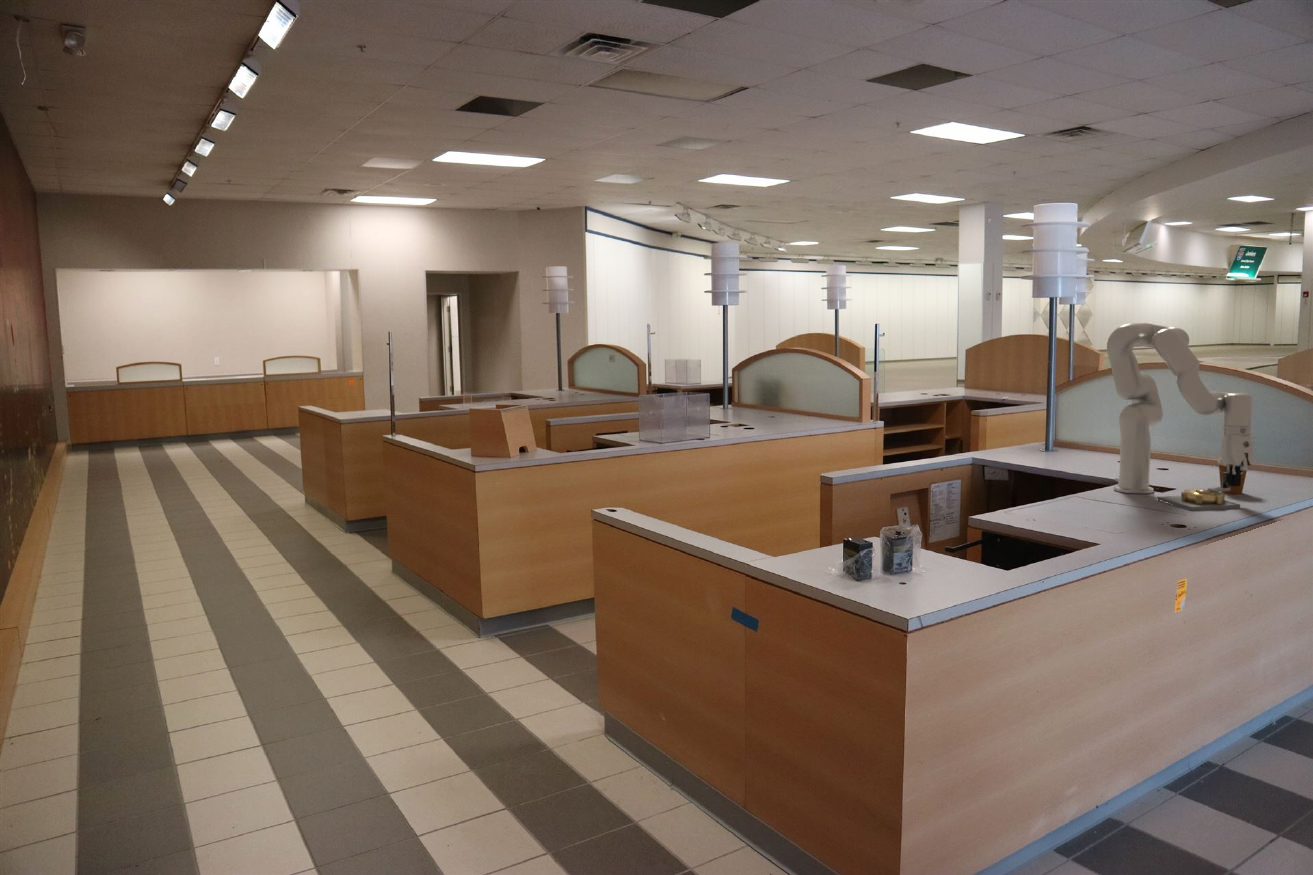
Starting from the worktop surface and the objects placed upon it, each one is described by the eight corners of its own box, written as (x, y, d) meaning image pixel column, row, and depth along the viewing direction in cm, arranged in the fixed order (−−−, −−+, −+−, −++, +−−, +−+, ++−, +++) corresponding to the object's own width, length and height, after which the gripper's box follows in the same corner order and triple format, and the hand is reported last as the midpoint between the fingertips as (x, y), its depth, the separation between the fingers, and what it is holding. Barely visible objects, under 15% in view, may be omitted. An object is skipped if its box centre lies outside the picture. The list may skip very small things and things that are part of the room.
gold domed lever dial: (1206, 505, 289) (1207, 479, 288) (1173, 498, 301) (1174, 473, 299) (1244, 500, 294) (1246, 475, 293) (1210, 494, 306) (1211, 469, 305)
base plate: (1156, 500, 305) (1157, 496, 305) (1203, 498, 307) (1203, 494, 307) (1191, 510, 289) (1191, 506, 288) (1240, 508, 290) (1240, 504, 290)
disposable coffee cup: (1215, 489, 321) (1217, 456, 320) (1247, 491, 316) (1249, 457, 315) (1215, 493, 313) (1217, 460, 312) (1248, 495, 308) (1250, 461, 307)
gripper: (1263, 433, 286) (1260, 489, 288) (1233, 427, 301) (1230, 481, 303) (1240, 433, 286) (1237, 490, 288) (1211, 428, 301) (1208, 482, 303)
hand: (1234, 485), depth 296 cm, fingers closed
